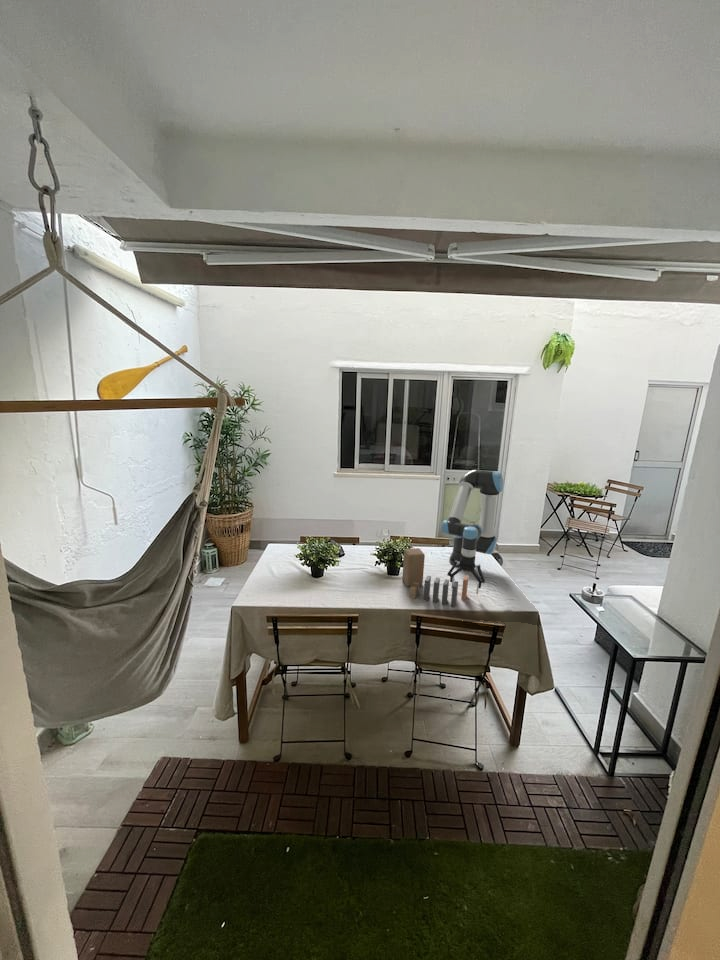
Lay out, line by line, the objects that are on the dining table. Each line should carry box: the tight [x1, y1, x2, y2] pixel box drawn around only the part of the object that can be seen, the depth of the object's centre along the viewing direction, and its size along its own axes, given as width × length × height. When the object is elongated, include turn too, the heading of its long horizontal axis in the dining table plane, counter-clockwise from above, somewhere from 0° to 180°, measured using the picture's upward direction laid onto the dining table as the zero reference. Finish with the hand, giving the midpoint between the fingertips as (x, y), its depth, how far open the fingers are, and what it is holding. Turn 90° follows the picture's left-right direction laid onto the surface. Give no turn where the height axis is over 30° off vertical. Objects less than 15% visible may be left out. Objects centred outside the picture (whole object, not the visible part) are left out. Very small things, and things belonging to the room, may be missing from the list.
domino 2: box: [431, 577, 441, 604], centre depth 223 cm, size 2×6×12 cm, turn 157°
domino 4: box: [450, 580, 459, 608], centre depth 219 cm, size 2×6×12 cm, turn 157°
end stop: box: [409, 582, 420, 600], centre depth 228 cm, size 8×3×6 cm, turn 157°
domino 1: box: [423, 575, 432, 602], centre depth 225 cm, size 2×6×12 cm, turn 157°
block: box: [402, 547, 425, 587], centre depth 241 cm, size 10×10×20 cm
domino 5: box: [461, 574, 469, 601], centre depth 227 cm, size 2×6×12 cm, turn 158°
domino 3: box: [441, 578, 450, 606], centre depth 221 cm, size 2×6×12 cm, turn 157°
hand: (464, 590), depth 227 cm, fingers open, 13 cm apart
